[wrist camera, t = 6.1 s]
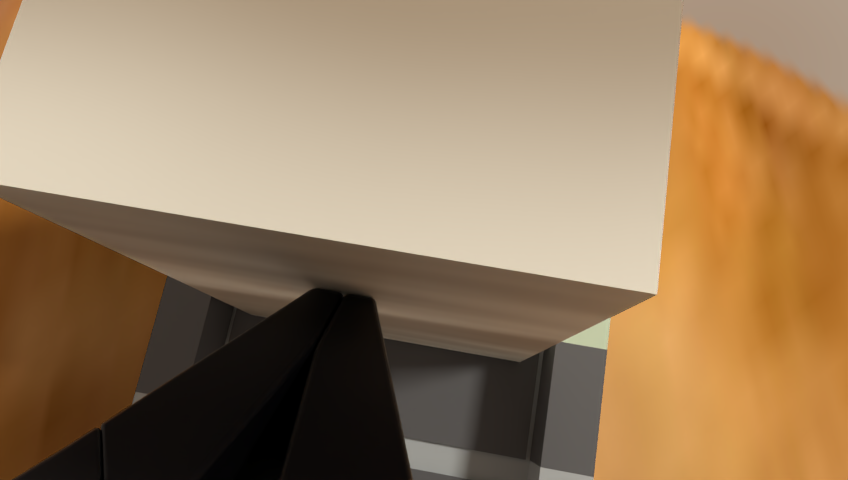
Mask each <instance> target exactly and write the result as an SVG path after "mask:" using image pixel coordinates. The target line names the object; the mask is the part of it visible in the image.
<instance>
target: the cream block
mask: <svg viewBox="0 0 848 480" xmlns="http://www.w3.org/2000/svg"><path fill="white" fill-rule="evenodd" d="M682 11H683V0H23V1H22V3H21V6H20V9H19V11H18V14H17V17H16V20H15V22H14V25H13V28H12V30H11V33H10V36H9V38H8V41H7V44H6V46H5V49H4V52H3V55H2V57H1V60H0V198H2V199H4V200H6V201H8V202H10V203H13V204H15V205H17V206H19V207H21V208H23V209H26V210H28V211H30V212H32V213H34V214H36V215H38V216H41V217H43V218H45V219H47V220H49V221H51V222H53V223H56V224H58V225H60V226H62V227H64V228H66V229H68V230H71V231H73V232H75V233H77V234H79V235H81V236H83V237H86V238H88V239H90V240H92V241H94V242H96V243H98V244H101V245H103V246H105V247H107V248H109V249H111V250H113V251H116V252H118V253H120V254H122V255H124V256H126V257H128V258H131V259H133V260H135V261H137V262H139V263H141V264H143V265H146V266H148V267H150V268H152V269H154V270H156V271H158V272H161V273H163V274H165V275H167V276H169V277H171V278H173V279H176V280H178V281H180V282H182V283H184V284H186V285H188V286H191V287H193V288H195V289H197V290H199V291H201V292H203V293H206V294H208V295H210V296H212V297H214V298H216V299H218V300H221V301H223V302H225V303H227V304H229V305H231V306H233V307H236V308H238V309H240V310H242V311H244V312H246V313H249V314H251V315H255V316H261V317H266V318H267V317H269V316H270V315H272V314H273V313H275V312H276V311H278V310H279V309H281V308H283V307H284V306H286V305H287V304H289V303H290V302H292V301H293V300H295V299H297V298H298V297H300V296H301V295H303V294H304V293H306V292H307V291H309V290H311V289H314V288H319V289H325V290H331V291H336V292H340V293H341V294H342V295H343V297H344V296H345V295H347V294H354V295H360V296H366V297H371V298H373V299H375V301H376V304H377V309H378V314H379V319H380V324H381V329H382V333H383V338H386V339H391V340H397V341H403V342H408V343H414V344H420V345H425V346H431V347H437V348H443V349H448V350H454V351H460V352H465V353H471V354H477V355H482V356H488V357H494V358H499V359H505V360H511V361H516V362H521V361H523V360H525V359H527V358H529V357H531V356H533V355H535V354H537V353H539V352H542V351H544V350H546V349H548V348H550V347H552V346H554V345H556V344H558V343H560V342H562V341H564V340H566V339H568V338H570V337H572V336H574V335H576V334H578V333H580V332H582V331H584V330H586V329H588V328H590V327H592V326H594V325H596V324H598V323H600V322H602V321H604V320H606V319H608V318H610V317H612V316H614V315H617V314H619V313H621V312H623V311H625V310H627V309H629V308H631V307H633V306H635V305H637V304H639V303H641V302H643V301H645V300H647V299H649V298H651V297H653V296H655V295H657V291H658V280H659V268H660V257H661V246H662V235H663V224H664V212H665V201H666V190H667V179H668V168H669V157H670V145H671V134H672V123H673V112H674V101H675V90H676V78H677V67H678V56H679V45H680V34H681V23H682Z"/></svg>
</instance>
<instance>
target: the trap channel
mask: <svg viewBox="0 0 848 480" xmlns="http://www.w3.org/2000/svg"><path fill="white" fill-rule="evenodd" d="M265 318H266V317H261V316H255V315H251V314H249V313H246V312H244V311H242V310H240V309H238V308H236V307H233V306H231V305H229V304H227V303H225V302H223V301H221V300H218V299H216V298H214V297H212V296H210V295H208V294H206V293H203V292H201V291H199V290H197V289H195V288H193V287H191V286H188V285H186V284H184V283H182V282H180V281H178V280H176V279H173V278H171V277H169V276H167V279H166V283H165V287H164V290H163V294H162V297H161V301H160V305H159V308H158V312H157V316H156V319H155V323H154V326H153V330H152V334H151V337H150V341H149V344H148V348H147V352H146V355H145V359H144V363H143V366H142V370H141V373H140V377H139V381H138V384H137V388H136V391H135V395H134V399H133V402H132V404H133V403H135V402H136V401H138V400H139V399H141V398H143V397H144V396H146V395H147V394H149V393H150V392H152V391H153V390H155V389H157V388H158V387H160V386H161V385H163V384H164V383H166V382H167V381H169V380H171V379H172V378H174V377H175V376H177V375H178V374H180V373H181V372H183V371H185V370H186V369H188V368H189V367H191V366H192V365H194V364H195V363H197V362H199V361H200V360H202V359H203V358H205V357H206V356H208V355H209V354H211V353H213V352H214V351H216V350H217V349H219V348H220V347H222V346H223V345H225V344H227V343H228V342H230V341H231V340H233V339H234V338H236V337H237V336H239V335H241V334H242V333H244V332H245V331H247V330H248V329H250V328H251V327H253V326H255V325H256V324H258V323H259V322H261V321H262V320H264V319H265ZM610 318H611V317H610ZM610 318H608V319H606V320H604V321H602V322H600V323H598V324H596V325H594V326H592V327H590V328H588V329H586V330H584V331H582V332H580V333H578V334H576V335H574V336H572V337H570V338H568V339H566V340H564V341H562V342H560V343H558V344H556V345H554V346H552V347H550V348H548V349H546V350H544V351H542V352H539V353H537V354H535V355H533V356H531V357H529V358H527V359H525V360H523V361H521V362H516V361H511V360H505V359H499V358H494V357H488V356H482V355H477V354H471V353H465V352H460V351H454V350H448V349H443V348H437V347H431V346H425V345H420V344H414V343H408V342H403V341H397V340H391V339H386V338H384V343H385V348H386V353H387V357H388V362H389V367H390V372H391V377H392V381H393V386H394V391H395V396H396V401H397V405H398V410H399V415H400V420H401V425H402V429H403V434H404V439H405V444H406V449H407V453H408V458H409V463H410V468H411V473H412V477H413V480H593V478H594V468H595V459H596V450H597V440H598V431H599V421H600V412H601V403H602V393H603V384H604V374H605V365H606V355H607V346H608V337H609V327H610Z"/></svg>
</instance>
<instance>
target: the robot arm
mask: <svg viewBox="0 0 848 480" xmlns="http://www.w3.org/2000/svg"><path fill="white" fill-rule="evenodd" d="M12 480H413V477H412V473H411V468H410V463H409V458H408V453H407V449H406V444H405V439H404V434H403V429H402V425H401V420H400V415H399V410H398V405H397V401H396V396H395V391H394V386H393V381H392V377H391V372H390V367H389V362H388V357H387V353H386V348H385V343H384V338H383V333H382V329H381V324H380V319H379V314H378V309H377V304H376V301H375V299H373V298H371V297H366V296H360V295H354V294H347V295H345V296H344V297H343V295H342V294H341V293H340V292H336V291H331V290H325V289H319V288H314V289H311V290H309V291H307V292H306V293H304V294H303V295H301V296H300V297H298V298H297V299H295V300H293V301H292V302H290V303H289V304H287V305H286V306H284V307H283V308H281V309H279V310H278V311H276V312H275V313H273V314H272V315H270V316H269V317H267V318H265V319H264V320H262V321H261V322H259V323H258V324H256V325H255V326H253V327H251V328H250V329H248V330H247V331H245V332H244V333H242V334H241V335H239V336H237V337H236V338H234V339H233V340H231V341H230V342H228V343H227V344H225V345H223V346H222V347H220V348H219V349H217V350H216V351H214V352H213V353H211V354H209V355H208V356H206V357H205V358H203V359H202V360H200V361H199V362H197V363H195V364H194V365H192V366H191V367H189V368H188V369H186V370H185V371H183V372H181V373H180V374H178V375H177V376H175V377H174V378H172V379H171V380H169V381H167V382H166V383H164V384H163V385H161V386H160V387H158V388H157V389H155V390H153V391H152V392H150V393H149V394H147V395H146V396H144V397H143V398H141V399H139V400H138V401H136V402H135V403H133V404H132V405H130V406H129V407H127V408H125V409H124V410H122V411H121V412H119V413H118V414H116V415H115V416H113V417H111V418H110V419H108V420H107V421H105V422H104V423H102V425H101V430H100V429H99V428H94V429H92V430H91V431H89V432H88V433H86V434H85V435H83V436H81V437H80V438H78V439H77V440H75V441H74V442H72V443H71V444H69V445H67V446H66V447H64V448H63V449H61V450H59V451H58V452H56V453H54V454H53V455H51V456H50V457H48V458H46V459H45V460H43V461H41V462H40V463H38V464H37V465H35V466H33V467H32V468H30V469H28V470H27V471H25V472H23V473H22V474H20V475H19V476H17V477H15V478H14V479H12Z"/></svg>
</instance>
